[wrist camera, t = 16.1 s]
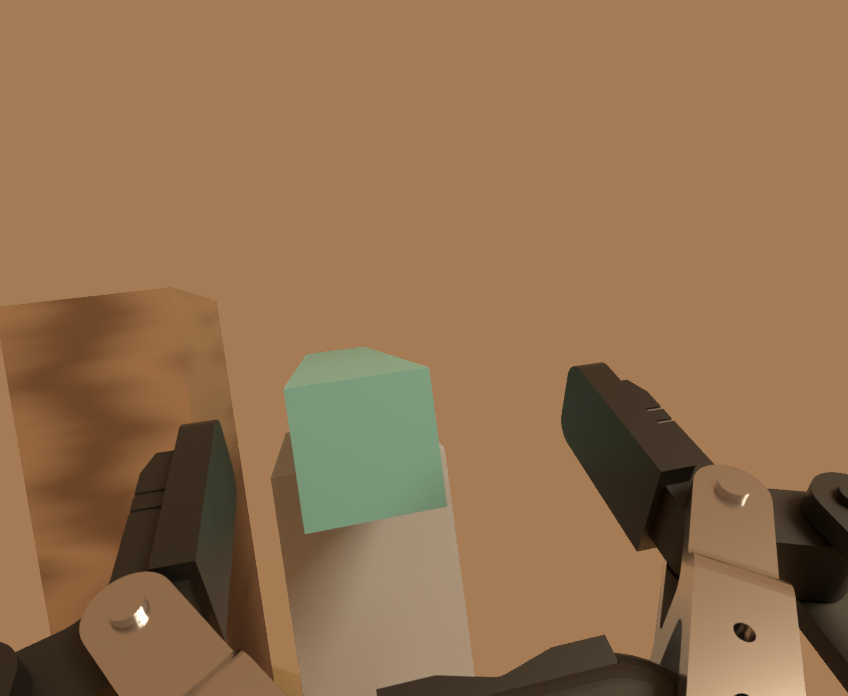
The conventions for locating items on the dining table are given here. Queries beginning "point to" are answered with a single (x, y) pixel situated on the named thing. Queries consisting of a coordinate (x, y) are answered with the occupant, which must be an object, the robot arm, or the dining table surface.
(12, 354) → the stand tall
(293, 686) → the dining table surface
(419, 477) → the batten
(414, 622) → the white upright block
